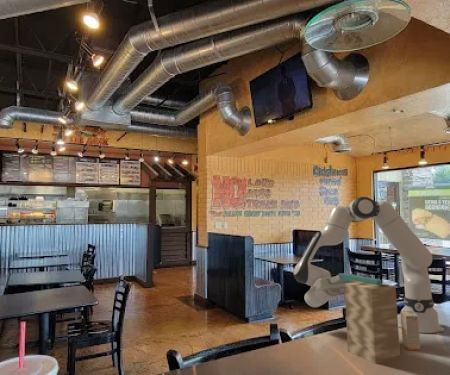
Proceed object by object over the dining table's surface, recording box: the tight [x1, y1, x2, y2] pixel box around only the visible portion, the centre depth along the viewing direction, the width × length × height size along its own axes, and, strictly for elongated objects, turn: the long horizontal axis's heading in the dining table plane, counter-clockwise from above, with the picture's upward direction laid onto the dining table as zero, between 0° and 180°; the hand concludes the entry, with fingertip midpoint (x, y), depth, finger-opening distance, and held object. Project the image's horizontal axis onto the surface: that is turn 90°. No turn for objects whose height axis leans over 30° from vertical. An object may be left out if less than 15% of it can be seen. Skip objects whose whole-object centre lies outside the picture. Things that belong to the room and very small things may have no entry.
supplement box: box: [400, 310, 421, 351], centre depth 145 cm, size 8×5×13 cm, turn 168°
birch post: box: [344, 281, 401, 364], centre depth 139 cm, size 14×12×27 cm
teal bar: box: [338, 272, 383, 287], centre depth 145 cm, size 21×2×2 cm, turn 23°
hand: (346, 276), depth 152 cm, fingers open, 5 cm apart
